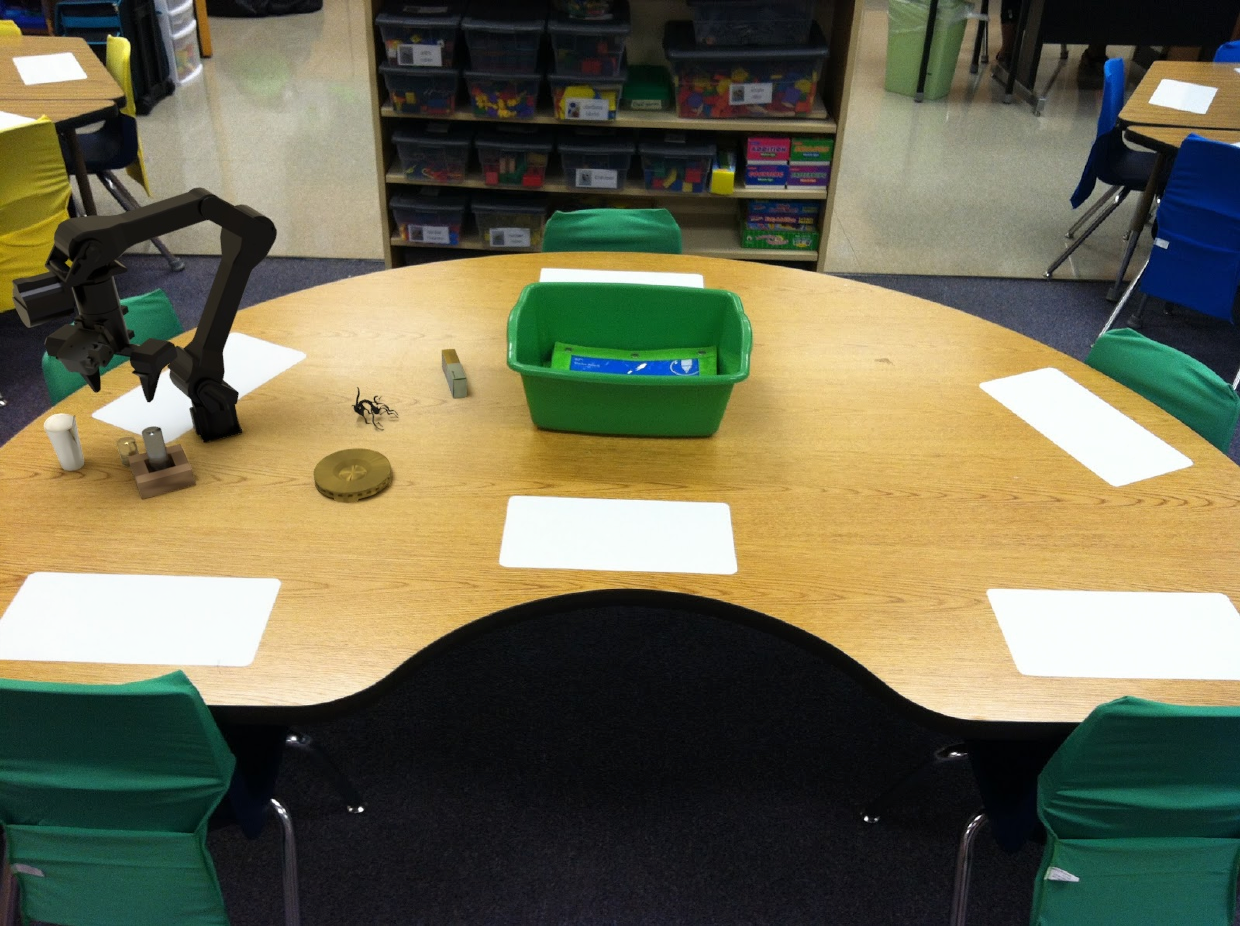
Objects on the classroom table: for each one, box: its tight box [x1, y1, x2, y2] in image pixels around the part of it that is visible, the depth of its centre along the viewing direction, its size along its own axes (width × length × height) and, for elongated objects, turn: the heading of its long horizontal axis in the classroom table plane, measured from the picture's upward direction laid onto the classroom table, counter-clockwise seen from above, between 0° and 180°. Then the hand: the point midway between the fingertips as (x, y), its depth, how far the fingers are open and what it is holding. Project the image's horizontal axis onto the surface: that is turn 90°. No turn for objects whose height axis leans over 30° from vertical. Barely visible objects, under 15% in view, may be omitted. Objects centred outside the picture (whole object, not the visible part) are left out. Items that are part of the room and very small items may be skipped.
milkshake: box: [43, 413, 85, 472], centre depth 163 cm, size 4×5×10 cm
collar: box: [128, 443, 197, 500], centre depth 164 cm, size 8×8×3 cm
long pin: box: [141, 425, 171, 472], centre depth 162 cm, size 3×3×9 cm
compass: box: [313, 448, 393, 503], centre depth 166 cm, size 12×12×2 cm
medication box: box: [441, 348, 468, 399], centre depth 191 cm, size 12×3×4 cm, turn 18°
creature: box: [351, 386, 399, 431], centre depth 180 cm, size 8×5×8 cm
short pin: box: [116, 436, 140, 468], centre depth 167 cm, size 3×3×4 cm
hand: (124, 396), depth 162 cm, fingers open, 9 cm apart
